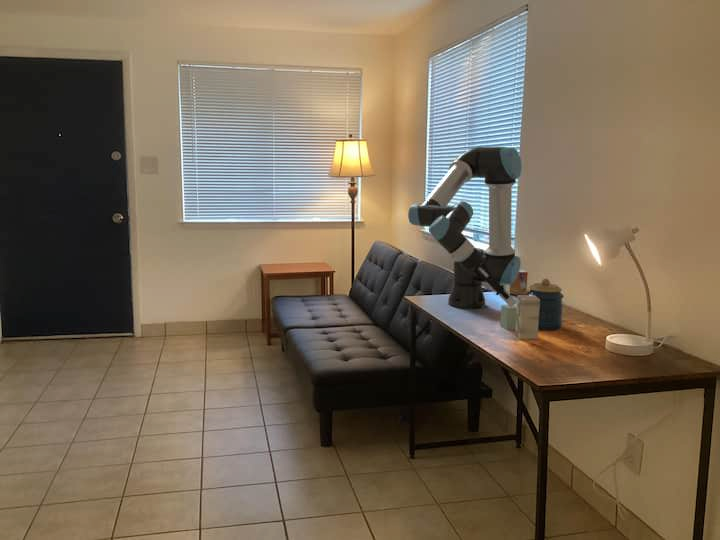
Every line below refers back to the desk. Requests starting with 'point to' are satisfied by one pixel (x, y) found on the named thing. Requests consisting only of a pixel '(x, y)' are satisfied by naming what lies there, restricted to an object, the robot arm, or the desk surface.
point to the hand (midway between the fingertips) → (513, 304)
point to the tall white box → (527, 317)
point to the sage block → (508, 317)
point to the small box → (518, 284)
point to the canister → (548, 304)
